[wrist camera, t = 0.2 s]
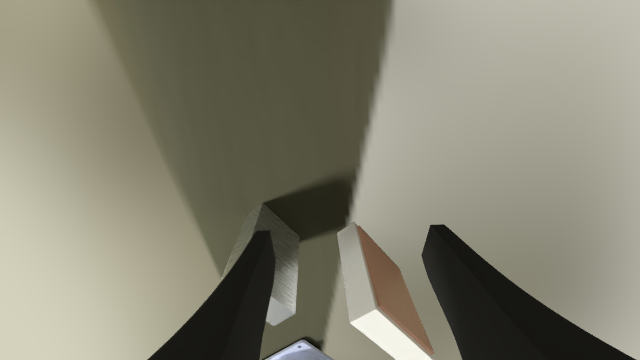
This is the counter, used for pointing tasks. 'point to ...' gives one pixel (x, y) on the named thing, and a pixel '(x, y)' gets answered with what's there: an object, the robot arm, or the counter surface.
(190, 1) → the counter surface
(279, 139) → the counter surface
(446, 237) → the robot arm
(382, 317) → the tile
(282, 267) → the pale grey upright block
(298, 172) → the counter surface
